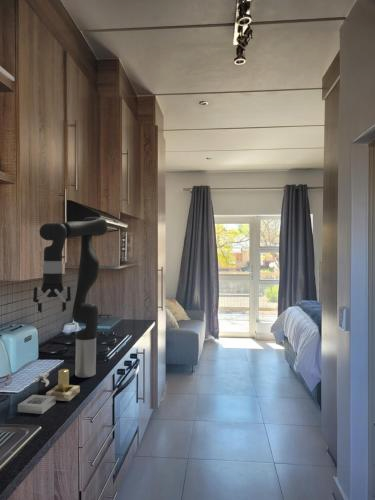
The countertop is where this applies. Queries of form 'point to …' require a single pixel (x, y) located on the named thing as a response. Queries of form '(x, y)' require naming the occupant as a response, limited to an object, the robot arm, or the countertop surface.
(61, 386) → the brass peg
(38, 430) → the countertop surface
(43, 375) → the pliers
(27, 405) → the socket block
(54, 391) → the rack block
